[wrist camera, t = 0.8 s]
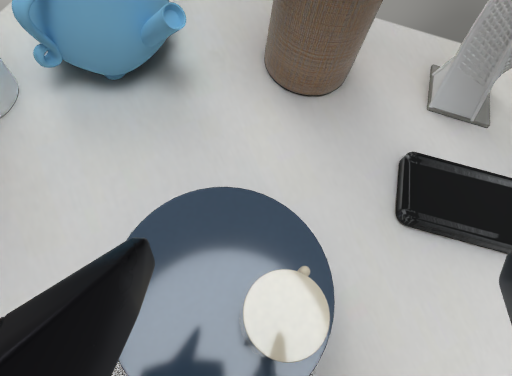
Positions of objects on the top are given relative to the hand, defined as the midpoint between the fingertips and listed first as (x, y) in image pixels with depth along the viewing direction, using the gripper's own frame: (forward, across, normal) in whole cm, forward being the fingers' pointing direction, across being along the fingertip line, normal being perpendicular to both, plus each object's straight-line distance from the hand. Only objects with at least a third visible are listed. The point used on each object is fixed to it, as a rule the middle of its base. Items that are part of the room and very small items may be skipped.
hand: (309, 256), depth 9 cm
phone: (+24, -14, +15) cm, 32 cm away
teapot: (+31, +23, -1) cm, 38 cm away
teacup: (+10, +3, +15) cm, 18 cm away
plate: (+12, +8, +15) cm, 21 cm away
